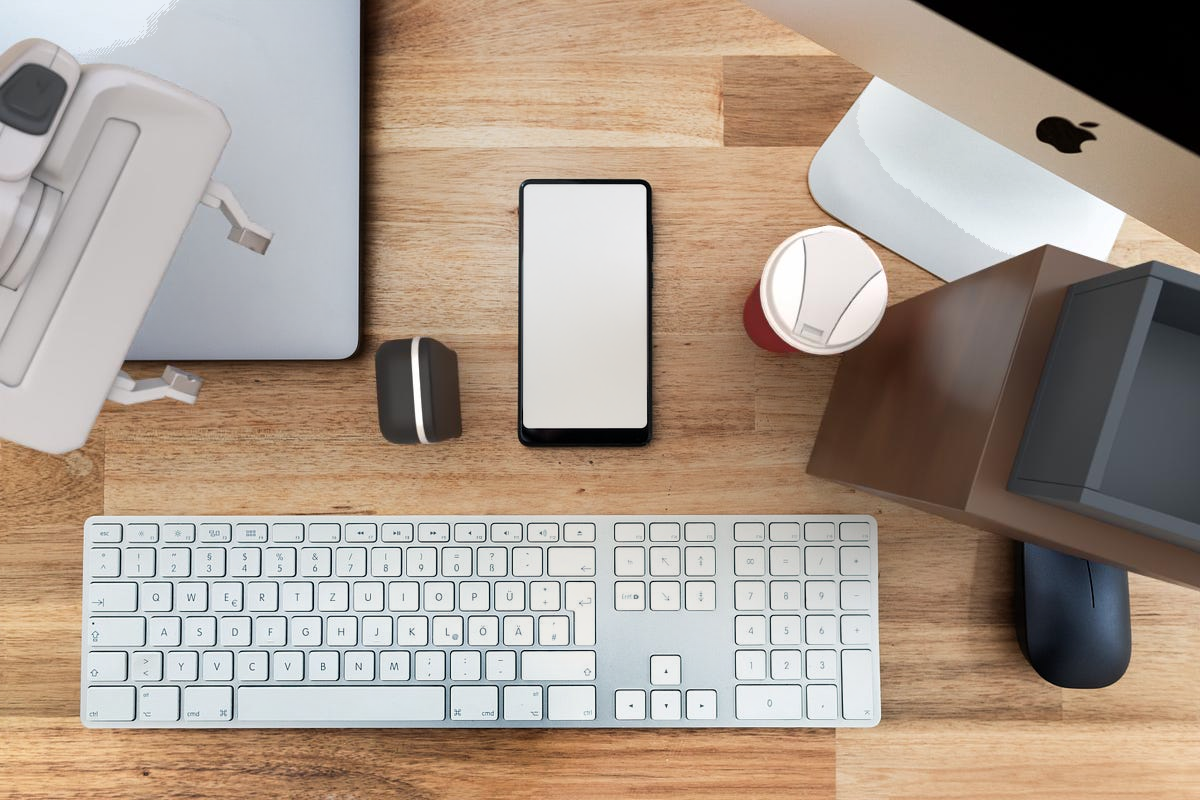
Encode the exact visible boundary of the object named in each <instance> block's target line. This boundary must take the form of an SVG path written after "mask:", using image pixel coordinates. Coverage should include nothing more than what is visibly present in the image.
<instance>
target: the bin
mask: <svg viewBox="0 0 1200 800" xmlns="http://www.w3.org/2000/svg"><path fill="white" fill-rule="evenodd" d="M1006 491H1008V492H1011V493H1014V494H1017V495H1020V496H1023V497H1026V498H1030V499H1033V500H1036V501H1039V502H1042V503H1045V504H1048V505H1051V506H1054V507H1057V508H1061V509H1064V510H1067V511H1070V512H1073V513H1076V514H1079V515H1082V516H1085V517H1089V518H1092V519H1095V520H1098V521H1101V522H1104V523H1107V524H1110V525H1113V526H1116V527H1120V528H1123V529H1126V530H1129V531H1132V532H1135V533H1138V534H1141V535H1144V536H1147V537H1151V538H1154V539H1157V540H1160V541H1163V542H1166V543H1169V544H1172V545H1175V546H1178V547H1182V548H1185V549H1188V550H1191V551H1194V552H1197V553H1200V274H1199V273H1196V272H1193V271H1190V270H1187V269H1185V268H1180V267H1178V266H1174V265H1171V264H1169V263H1165V262H1161V261H1159V260H1156V259H1152V260H1150V261H1149V260H1148V261H1145V262H1142V263H1139V264H1136V265H1131V266H1129V267H1125V269H1121V270H1118V271H1114V272H1111V273H1108V274H1104V275H1101V276H1097V277H1094V278H1090V279H1087V280H1084V281H1080V282H1078V283H1073V284H1070V285H1069V288H1068V291H1067V294H1066V298H1065V301H1064V304H1063V307H1062V311H1061V314H1060V317H1059V320H1058V323H1057V327H1056V330H1055V333H1054V336H1053V340H1052V343H1051V346H1050V349H1049V353H1048V356H1047V359H1046V362H1045V365H1044V369H1043V372H1042V375H1041V378H1040V382H1039V385H1038V388H1037V391H1036V395H1035V398H1034V401H1033V404H1032V407H1031V411H1030V414H1029V417H1028V420H1027V424H1026V427H1025V430H1024V433H1023V437H1022V440H1021V443H1020V446H1019V449H1018V453H1017V456H1016V459H1015V462H1014V466H1013V469H1012V472H1011V475H1010V479H1009V482H1008V485H1007V488H1006Z"/></svg>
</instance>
